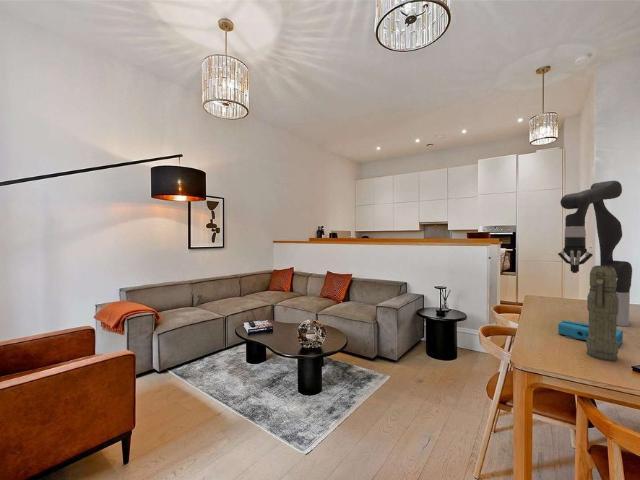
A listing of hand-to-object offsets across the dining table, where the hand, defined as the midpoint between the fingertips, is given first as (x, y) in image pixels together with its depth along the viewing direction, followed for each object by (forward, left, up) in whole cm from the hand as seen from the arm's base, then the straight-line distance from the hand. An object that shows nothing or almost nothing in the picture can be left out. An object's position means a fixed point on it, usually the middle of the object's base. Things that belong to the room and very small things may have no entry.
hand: (574, 272), depth 140 cm
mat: (0, +4, -29) cm, 29 cm away
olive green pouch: (+27, +5, -29) cm, 40 cm away
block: (+2, -5, -26) cm, 27 cm away
